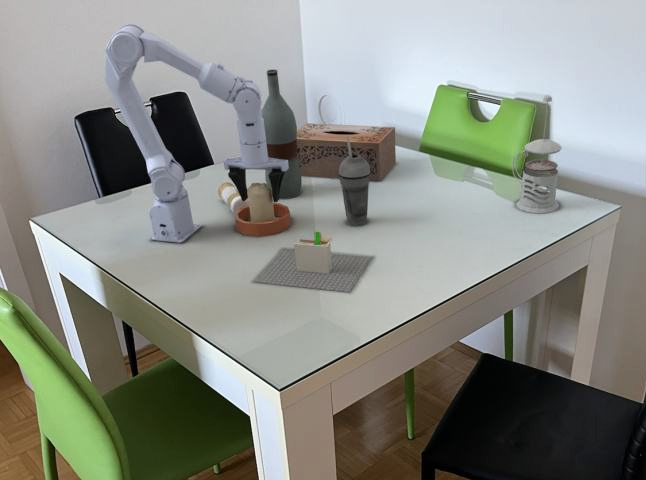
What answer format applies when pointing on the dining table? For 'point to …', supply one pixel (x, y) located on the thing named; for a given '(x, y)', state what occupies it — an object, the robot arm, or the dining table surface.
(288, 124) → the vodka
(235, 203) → the sprinkles bottle
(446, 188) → the dining table surface
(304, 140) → the tissue box cover
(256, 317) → the dining table surface
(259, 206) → the candle
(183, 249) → the dining table surface
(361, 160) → the beverage cup
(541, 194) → the french press
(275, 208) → the orange faceted bracelet
